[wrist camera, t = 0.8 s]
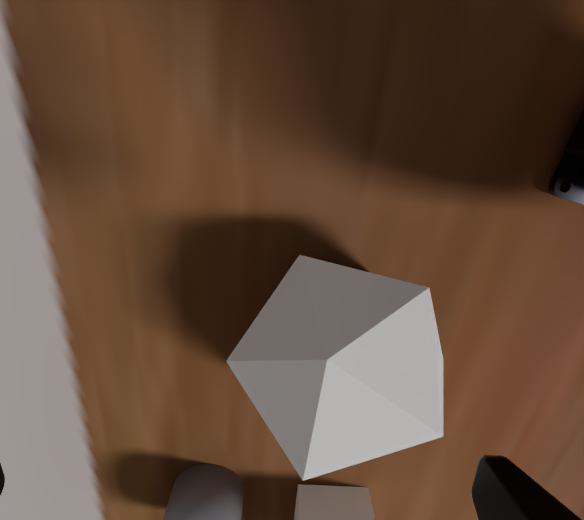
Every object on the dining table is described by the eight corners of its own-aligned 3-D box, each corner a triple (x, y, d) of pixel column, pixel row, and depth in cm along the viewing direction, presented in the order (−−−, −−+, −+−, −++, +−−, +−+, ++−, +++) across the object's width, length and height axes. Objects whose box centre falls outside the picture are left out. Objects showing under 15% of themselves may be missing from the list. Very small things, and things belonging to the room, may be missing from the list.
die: (263, 211, 20) (150, 403, 14) (458, 206, 16) (409, 480, 10) (316, 313, 26) (250, 481, 20) (471, 331, 21) (444, 553, 15)
